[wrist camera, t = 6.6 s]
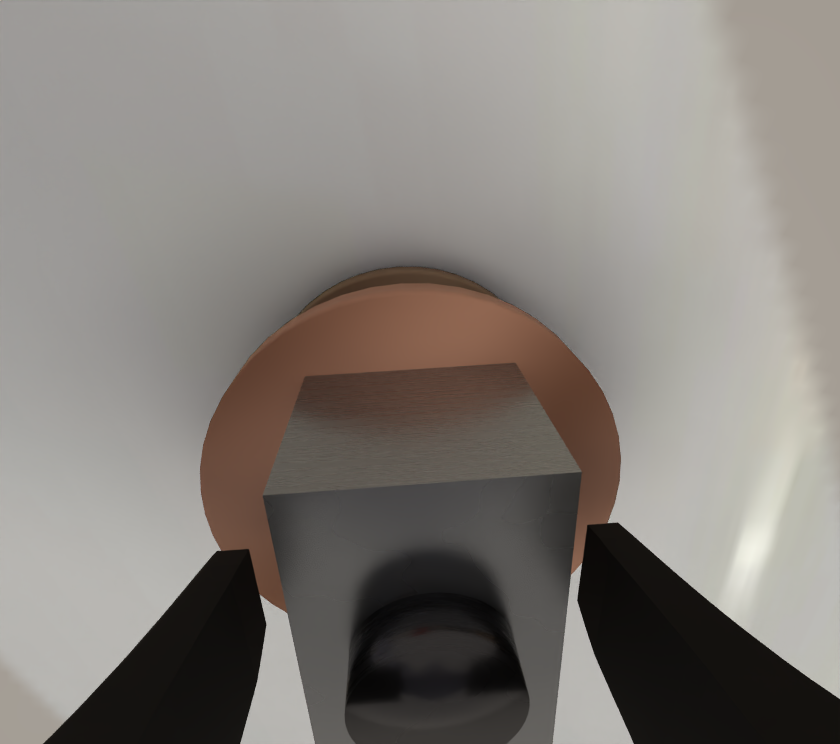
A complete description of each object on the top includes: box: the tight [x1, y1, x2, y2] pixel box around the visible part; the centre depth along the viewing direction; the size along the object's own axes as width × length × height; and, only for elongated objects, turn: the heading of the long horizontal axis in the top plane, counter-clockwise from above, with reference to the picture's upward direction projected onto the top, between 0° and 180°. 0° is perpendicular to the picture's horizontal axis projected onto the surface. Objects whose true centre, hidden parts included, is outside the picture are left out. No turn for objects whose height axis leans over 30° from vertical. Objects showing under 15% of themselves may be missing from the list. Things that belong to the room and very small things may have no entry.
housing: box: [262, 363, 582, 744], centre depth 10 cm, size 4×7×5 cm, turn 2°
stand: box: [200, 267, 621, 612], centre depth 14 cm, size 10×10×5 cm
